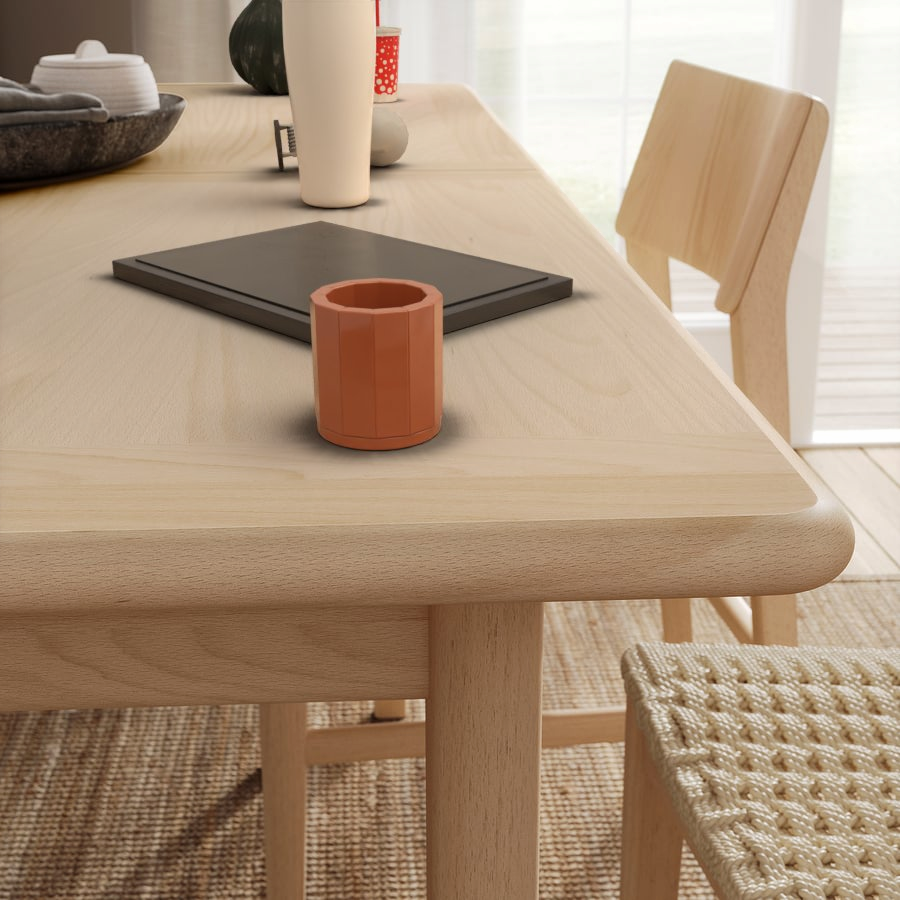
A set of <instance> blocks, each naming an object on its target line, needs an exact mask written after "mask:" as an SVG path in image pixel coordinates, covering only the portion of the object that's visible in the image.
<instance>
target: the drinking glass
mask: <svg viewBox="0 0 900 900" xmlns="http://www.w3.org/2000/svg"><path fill="white" fill-rule="evenodd" d="M282 27H283V46H284V57H285V66H286V74H287V82H288V89H289V91H288V96H289V104H290V111H291V118H292V123H293V127H294V135H295V142H296V150H297V157H296V158H297V166H298V177H299V193H300V198H301V200H302V201H303V202H304V203H305V204H306V205H308V206H313V207H317V208H327V209H328V208H329V209H330V208H331V209H336V208H337V209H338V208H350V207H356V206H360V205H363V204H365V203H366V202H367V201H368V200H369V198H370V196H371V174H370V172H371V171H370V170H371V164H370V153H371V134H372V116H373V108H374V102H373V100H374V83H375V65H376V8H375V0H282Z"/></svg>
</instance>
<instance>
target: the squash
mask: <svg viewBox="0 0 900 900" xmlns="http://www.w3.org/2000/svg"><path fill="white" fill-rule="evenodd" d="M228 53H229V59H230V63H231V65H232V68H233V69H234V70H235V72H236V74H237V75H238V76H239V77H240V79H242V81H244V82H245V83H246V84H248V85H250V86H251V87H252V88H253V89H254V90H256V91H257V92H260V93H262V94H268V95H269V94H272V93H274V92H275V93H276V94H278V95H285V94H288V93H289V89H288V82H287V74H286V66H285V57H284V46H283V27H282V0H251V1H250V2H249V3H248V4H247V6H245V8H243V9H242V11H241V12H240V14H239V15H238V16H237V17H236V20H235V21H234V22H233V24H232V26H231V29H230V32H229V36H228Z"/></svg>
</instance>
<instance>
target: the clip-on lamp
mask: <svg viewBox="0 0 900 900" xmlns="http://www.w3.org/2000/svg"><path fill="white" fill-rule="evenodd" d="M407 127H408V126H407V124H406V122H405V121H404V119H403V118H402V116H401V115H399V114H398V113H397V112H396V111H395V110H392V109H389V108H387V107H378V106H377V107H373V116H372V134H371V153H370V166H374V167H385V166H389V165H393V164H395V163H396V162H398V161H399V160H400V159H401V158H402V157H403V155H404V154H405V152H406V150H407V147H408V145H409V130H408V128H407ZM273 128H274V129H273V131H274V141H275V148H276V154H277V155H276V157H277V163H278V164H277V165H278V169H279V170H284V169H285V166H284V165H285V164H284V158H289V157H293V158H297V150H296V142H295V135H294V127H293V122H291V123H289V124H288V123H287V124H286V123H285V124H284V123H280V122H279V119H273ZM284 130H286V132H287V133H286V136H287V140H288V141H287V144H288V145H287V146H288V151H289V152H287V151H286V152H285V151H283V143H282V135H281V131H284Z"/></svg>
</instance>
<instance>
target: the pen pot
mask: <svg viewBox="0 0 900 900" xmlns="http://www.w3.org/2000/svg"><path fill="white" fill-rule="evenodd" d="M310 315H311V336H312V343H311V353H312V354H311V355H312V376H313V377H312V378H313V397H314V398H313V399H314V415H315V417H316V428H317V432H318V434H319V435H320V436H321V437H322V438H323V439H324V440H325V441H327V442H330V443H331V444H334V445H337V446H341V447H345V448H349V449H356V450H366V451H387V450H388V451H389V450H398V449H403V448H409V447H413V446H416V445H419V444H423V443H425V442H427V441H429V440H431V439H432V438H434V437H436V436H437V435H438V433H439V432H440V430H441V428H442V416H443V415H444V387H443V386H444V334H443V295H442V294H441V293H440V292H439V291H438V290H437V289H436V288H435V287H434V286H432V285H428V284H424V283H420V282H416V281H413V280H402V279H387V278H372V279H357V280H348V281H347V280H346V281H342V282H338V283H334V284H329V285H325V286H322V287H320V288H319V289H318V290H316V291H315V292H313V293H312V294H311V295H310Z"/></svg>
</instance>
